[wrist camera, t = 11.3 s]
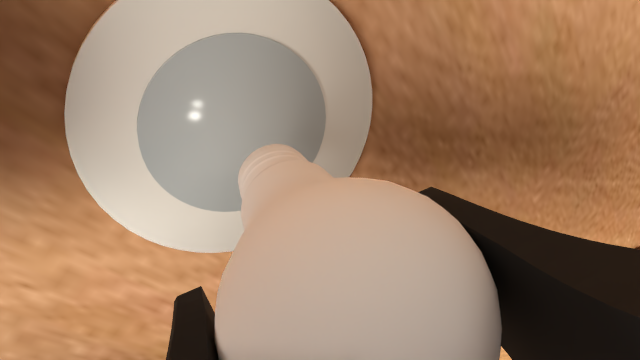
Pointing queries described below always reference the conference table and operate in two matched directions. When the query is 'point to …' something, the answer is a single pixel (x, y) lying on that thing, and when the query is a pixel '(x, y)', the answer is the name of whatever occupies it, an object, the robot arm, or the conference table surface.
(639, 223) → the conference table surface
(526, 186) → the conference table surface
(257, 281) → the lightbulb
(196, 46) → the saucer
